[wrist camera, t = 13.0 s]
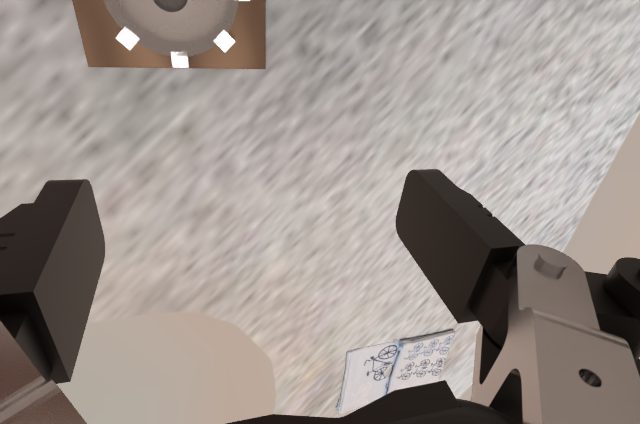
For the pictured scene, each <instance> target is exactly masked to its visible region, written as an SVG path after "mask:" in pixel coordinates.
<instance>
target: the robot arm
mask: <svg viewBox="0 0 640 424" xmlns="http://www.w3.org/2000/svg"><path fill="white" fill-rule="evenodd" d="M396 229H397V233H398V236H399V238H400V239H401V241H402V242H403V244H404V245H405V247H406V248H407V249H408V251H409V252H410V254H411V255H412V257H413V258H414V260H415V261H416V263H417V264H418V265H419V267H420V268H421V270H422V271H423V273H424V274H425V276H426V277H427V279H428V280H429V281H430V283H431V284H432V286H433V287H434V289H435V290H436V292H437V293H438V295H439V296H440V298H441V299H442V300H443V302H444V303H445V305H446V306H447V308H448V309H449V311H450V312H451V314H452V315H453V316H454V318H455V319H456V321H457V322H458V323H464V322H471V321H477V320H478V321H479V322H480V324H481V326H480V328H479V330H478V333H477V337H476V349H475V360H474V372H473V384H472V395H471V400H470V401H467V400H462V399H456V398H455V396H454V395H453V393H452V391H451V389H450V388H449V386H448V384H447V382H446V381H445V380H444V381H439V382H434V383H429V384H424V385H419V386H414V387H409V388H404V389H399V390H394V391H392V392H390V393H388V394H386V395H384V396H383V397H381V398H379V399H377V400H375V401H373V402H371V403H369V404H367V405H366V406H364V407H362V408H360V409H358V410H356V411H354V412H352V413H350V414H349V415H347V416H344V417H340V418H326V417H309V416H292V415H275V414H272V415H268V416H262V417H257V418H252V419H247V420H242V421H237V422H232V423H227V424H640V359H639V357H640V259H637V258H621V259H619V260H618V261H617V262H616V263H615V265H614V266H613V267H612V269H611V270H610V272H609V273H608V275H606V274H599V273H592V272H585V271H583V269H582V268H581V267H580V265H579V264H578V263H577V262H575V261H574V260H573V259H572V258H570V257H569V256H567V255H565V254H564V253H562V252H560V251H557V250H555V249H553V248H550V247H546V246H542V245H534V244H531V245H525V244H524V243H523V242H522V241H521V240H520V239H518V238H517V237H516V236H515V235H514V234H513V233H512V232H511V231H510V230H509V229H508V228H507V227H506V226H504V225H503V224H502V223H501V222H500V221H499V220H498V219H497V218H496V217H492V214H491V213H490V212H489V211H488V210H487V209H486V208H483V205H482V204H481V203H480V202H479V201H477V200H476V199H475V198H474V197H473V196H472V195H471V194H469V193H467V192H465V191H464V190H462V189H460V188H458V187H457V186H456V185H455V184H454V183H453V182H451V181H450V180H449V179H448V178H447V177H446V176H445V175H444V174H443V173H442V172H441V171H440V170H438V169H427V170H411V171H410V172H409V173H408V175H407V177H406V180H405V184H404V188H403V192H402V196H401V200H400V204H399V208H398V211H397V215H396ZM104 257H105V241H104V234H103V230H102V226H101V222H100V218H99V214H98V210H97V206H96V202H95V198H94V194H93V190H92V187H91V184H90V182H89V181H88V180H86V179H82V180H50V181H47V182H46V184H45V185H44V187H43V189H42V190H41V192H40V193H39V195H38V197H37V198H36V200H35V202H34V203H31V204H21V205H19V206H18V207H16V208H15V209H13V210H12V211H10V212H9V213H7V214H6V215H5V216H3V217H2V218H0V424H87V423H86V422H85V421H84V419H83V418H82V417H81V415H80V414H79V413H78V412H77V410H76V409H75V408H74V406H73V405H72V404H71V402H70V401H69V400H68V398H67V397H66V396H65V395H64V393H63V392H62V391H61V389H60V388H59V387H58V386H57V385H56V384H58V383H64V382H70V381H71V377H72V373H73V369H74V366H75V363H76V359H77V356H78V352H79V349H80V345H81V341H82V338H83V334H84V330H85V327H86V323H87V320H88V316H89V313H90V309H91V305H92V302H93V298H94V295H95V291H96V287H97V284H98V280H99V277H100V273H101V269H102V266H103V262H104Z"/></svg>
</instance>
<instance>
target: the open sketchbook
mask: <svg viewBox="0 0 640 424" xmlns="http://www.w3.org/2000/svg"><path fill="white" fill-rule="evenodd" d="M454 335H455V331H451V330H450V331H445V332H441V333H436V334H431V335H427V336H421V337H416V338H411V339H405V340H400V341H398V340H395V339H394V342H389V343H384V344H379V345H374V346H368V347H363V348H358V349H354V350H350V351H347V354H346V367H345V373H344V379H343V384H342V390H341V397H340V398H339V401H338V406H337V407H335V409H337V411H338V414H341V413H344V412H347V411H350V410H353V409H356V408H360V407H364V406H366V405H367V404H369V403H371V402H373V401H375V400H377V399H379V398H381V397H383V396H384V395H386V394H388V393H390V392H392V391H394V390H399V389H404V388H409V387H414V386H419V385H424V384H429V383H434V382H438V380H439V377H440V374H441V371H442V368H443V366H444V363H445V360H446V357H447V355H448V352H449V349H450V345H451V343H452V340H453V337H454ZM389 365H393V370H392V374H391V375H390V377H389V378H388V377H386V376H385V375H384V373H383V372H384V370H386V368H387V367H388V366H389Z"/></svg>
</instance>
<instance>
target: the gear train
mask: <svg viewBox="0 0 640 424" xmlns="http://www.w3.org/2000/svg"><path fill="white" fill-rule="evenodd" d="M103 1H104V3H105V5H106V7H107V9H108V11H109V13H110V14H111V16H112V17H113V19H114V20H115V22H116V23H117V24H118V25H119V26H120V28H121V29H122V31H121V32H120V33H119V34H118V35H117V37H116V39H117V40H118V41H119V42H121V43H122V44H123V45H124V46H125V47H126V48H128V49H129V50H131V49H132V47H133V46H134V45H135V44H136V43H139V44H140V45H142V46H144V47H145V48H147V49H149V50H151V51H154V52H156V53H159V54H162V55H167V56H171V57H172V65H173V67H182V68H189V60H188V57H189V56H194V55H198V54H201V53H204V52H206V51H208V50H210V49H211V48H213V47H214V46H216V45H218V46H219V47H220V48H221V49H222V50H223V51H224V52H226V51H227V50H228V49H229V48H230V47H231V46H232V45H233V43H234V42H235V39H234V38H233V36H232V35H231V34H230V33H229V32H228V31H229V30H230V28H231V26H232V24H233V22H234V19H235V16H236V13H237V9H238V2H239V1H250V0H103Z"/></svg>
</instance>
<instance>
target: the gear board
mask: <svg viewBox="0 0 640 424" xmlns="http://www.w3.org/2000/svg"><path fill="white" fill-rule="evenodd" d="M72 1H73V5H74V9H75V13H76V17H77V21H78V25H79V30H80V34H81V38H82V42H83V46H84V50H85V54H86V58H87V62H88V66H89V67H137V68H182V67H173V65H172V57H171V56H167V55H162V54H159V53H156V52H154V51H151V50H149V49H147V48H145V47H144V46H142V45H140V44H139V43H136V44H135V45H134V46H133V47H132V49H131V50H129V49H128V48H126V47H125V46H124V45H123V44H122V43H121V42H119V41H118V40H117V39H116V37H117V35H118V34H119V33H120V32H121V31H122V29H121V28H120V26H119V25H118V24H117V23H116V22H115V20H114V19H113V17H112V16H111V14H110V13H109V11H108V9H107V7H106V5H105V3H104V1H103V0H72ZM228 32H229V33H230V34H231V35H232V36H233V38H234V39H235V42H234V43H233V45H232V46H231V47H230V48H229V49H228V50H227V51H226V52H224V51H223V50H222V49H221V48H220V47H219V46H218V45H216V46H214V47H213V48H211V49H210V50H208V51H206V52H204V53H201V54H198V55H194V56H189V57H188V60H189V68H225V69H266V57H265V0H250V1H239V2H238V9H237V13H236V16H235V19H234V22H233V24H232V26H231V28H230V30H229V31H228Z"/></svg>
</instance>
